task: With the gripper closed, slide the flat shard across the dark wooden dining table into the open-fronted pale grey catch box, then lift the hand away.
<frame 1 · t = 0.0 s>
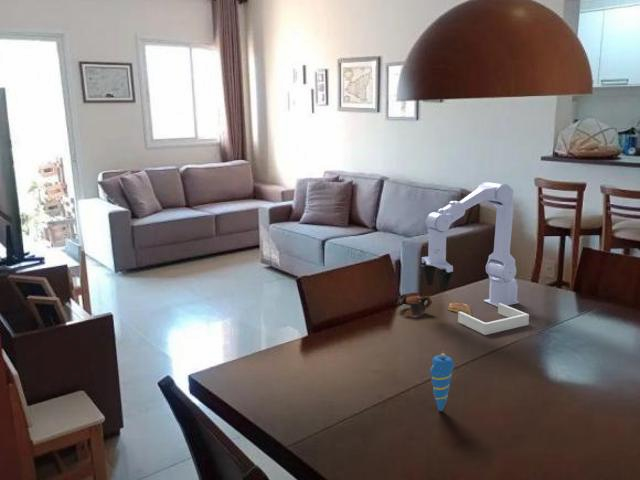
hand: (436, 287, 192), 10 cm above the table, tool pointing down, fingers open, 7 cm apart
catch box: (491, 322, 187), on the table
ornament: (441, 411, 133), on the table
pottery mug: (414, 313, 199), on the table
shard: (463, 312, 199), on the table
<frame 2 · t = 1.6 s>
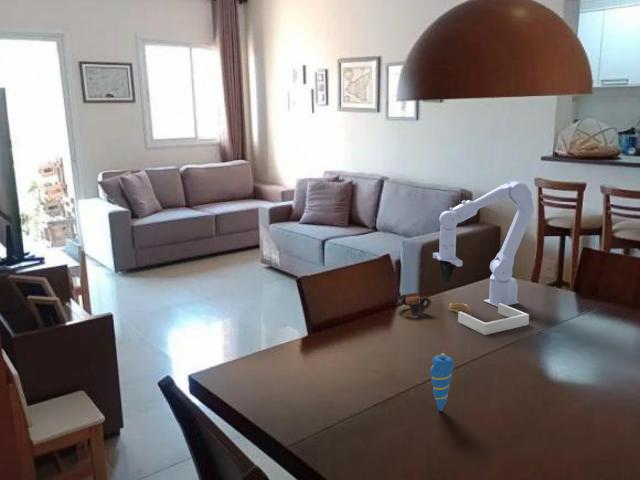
hand: (446, 281, 206), 8 cm above the table, tool pointing down, fingers closed
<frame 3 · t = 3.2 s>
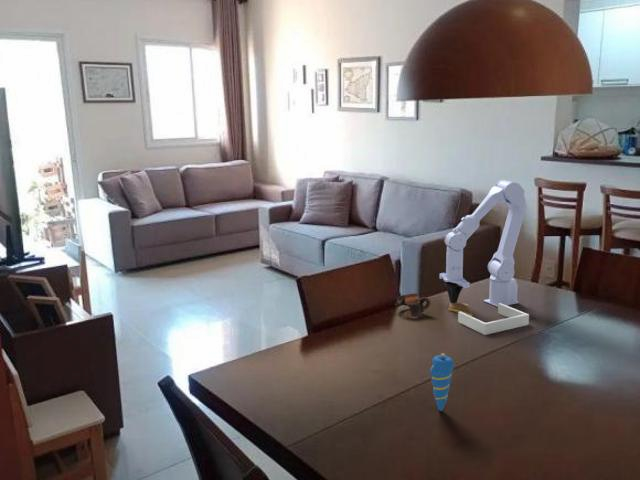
hand: (453, 302, 204), 1 cm above the table, tool pointing down, fingers closed
shard: (464, 312, 199), on the table, touching gripper
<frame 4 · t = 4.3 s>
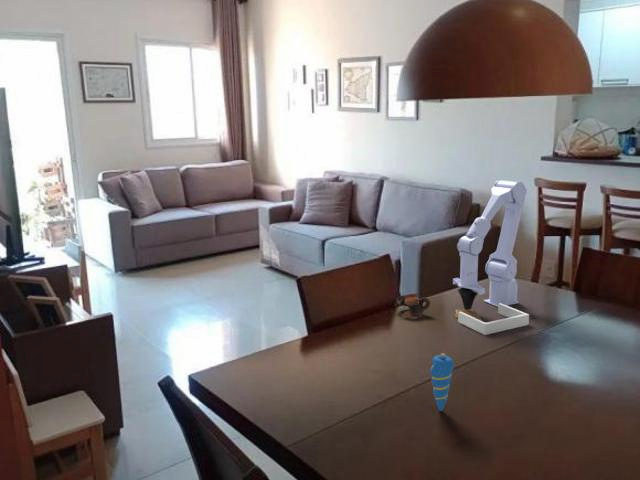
hand: (467, 308, 197), 1 cm above the table, tool pointing down, fingers closed
shard: (471, 318, 193), on the table, touching gripper
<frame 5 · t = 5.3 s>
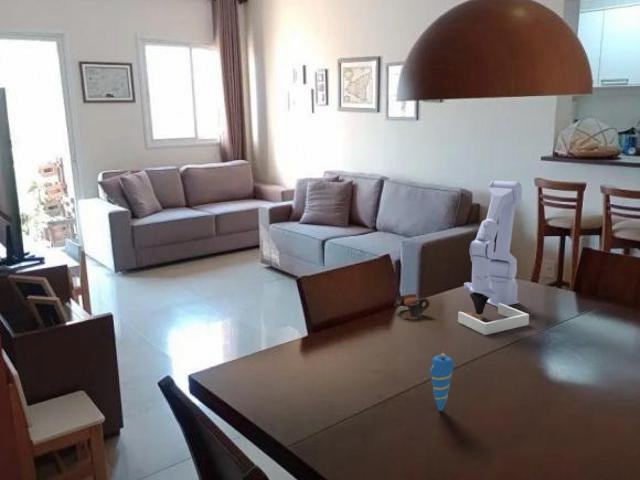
hand: (479, 314, 192), 1 cm above the table, tool pointing down, fingers closed, pressing on shard
shard: (475, 323, 188), on the table, touching gripper
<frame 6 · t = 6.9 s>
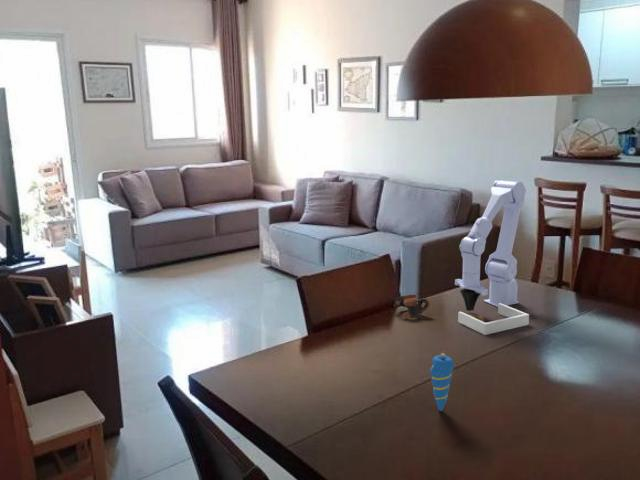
hand: (470, 309, 196), 1 cm above the table, tool pointing down, fingers closed
shard: (477, 324, 187), on the table
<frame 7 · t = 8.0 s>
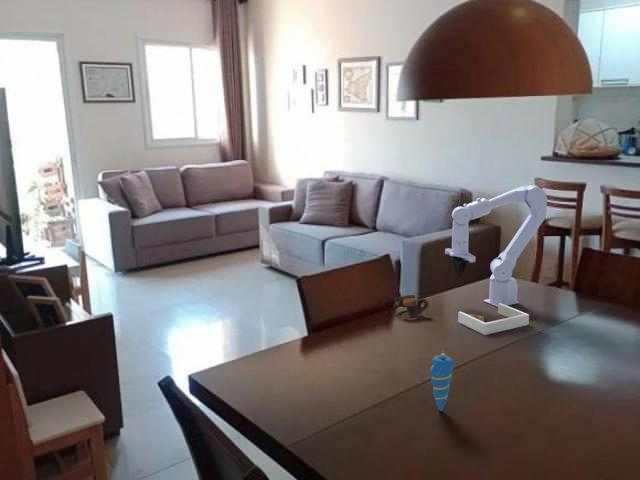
hand: (459, 277, 206), 9 cm above the table, tool pointing down, fingers closed
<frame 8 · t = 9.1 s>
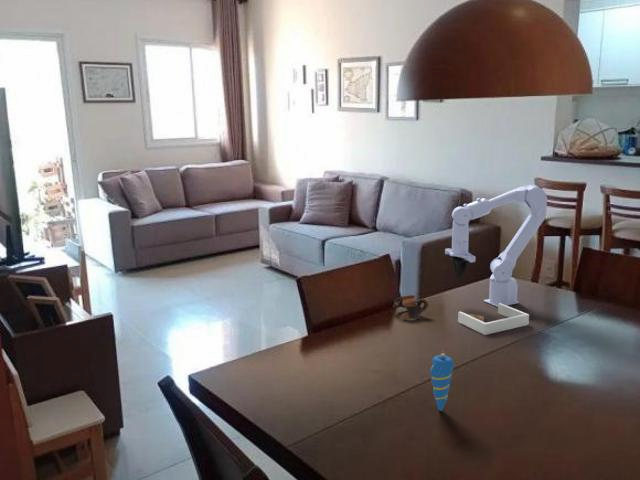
hand: (459, 277, 206), 9 cm above the table, tool pointing down, fingers closed
at the end: shard inside the target area on the catch box (4.7 cm from its centre), point -0.7 cm above the catch box's base; shard moved 12.3 cm from its start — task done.
